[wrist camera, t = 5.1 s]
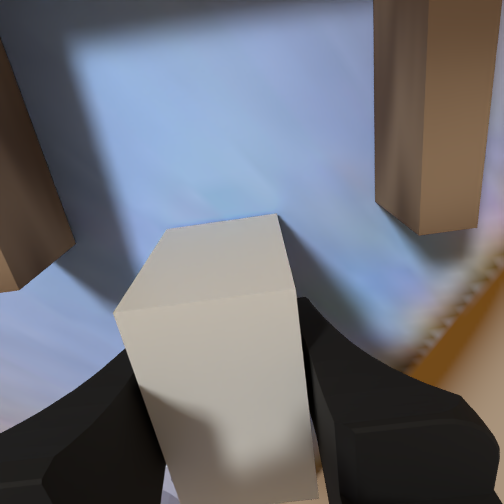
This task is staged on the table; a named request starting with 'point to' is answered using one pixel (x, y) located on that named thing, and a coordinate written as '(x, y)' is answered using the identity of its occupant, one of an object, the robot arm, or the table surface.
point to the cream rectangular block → (223, 363)
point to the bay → (385, 123)
